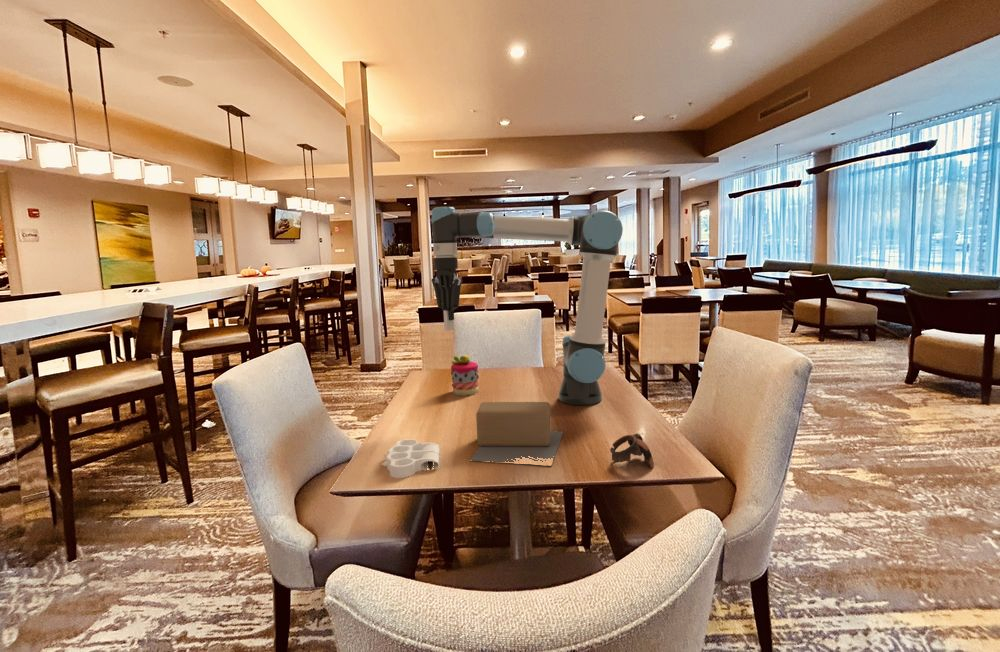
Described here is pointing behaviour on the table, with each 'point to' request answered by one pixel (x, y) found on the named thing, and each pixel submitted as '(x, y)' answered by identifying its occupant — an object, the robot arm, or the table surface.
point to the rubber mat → (518, 451)
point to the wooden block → (513, 424)
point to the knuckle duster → (411, 457)
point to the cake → (464, 376)
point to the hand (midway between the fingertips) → (449, 329)
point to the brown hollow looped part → (631, 449)
